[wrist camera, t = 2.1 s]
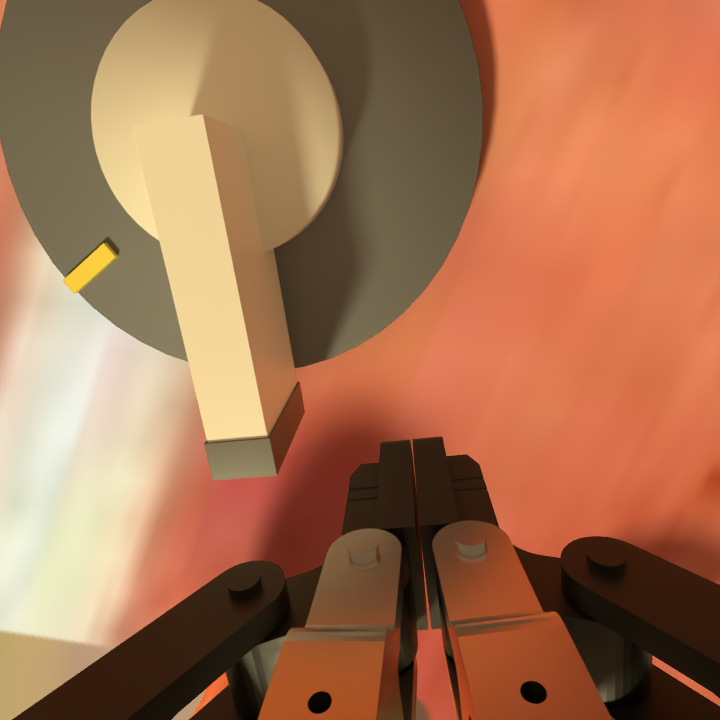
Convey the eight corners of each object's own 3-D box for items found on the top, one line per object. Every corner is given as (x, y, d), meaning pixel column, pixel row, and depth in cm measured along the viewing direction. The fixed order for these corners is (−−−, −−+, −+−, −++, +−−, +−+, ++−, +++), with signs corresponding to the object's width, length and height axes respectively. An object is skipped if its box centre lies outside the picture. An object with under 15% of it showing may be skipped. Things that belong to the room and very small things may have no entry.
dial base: (460, -200, 20) (465, -236, 19) (491, 340, 27) (497, 350, 25) (-50, -90, 23) (-86, -113, 21) (92, 381, 29) (72, 393, 28)
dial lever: (94, 30, 22) (-31, -35, 16) (325, -12, 21) (292, -101, 15) (189, 417, 28) (125, 487, 21) (378, 400, 26) (370, 468, 20)
